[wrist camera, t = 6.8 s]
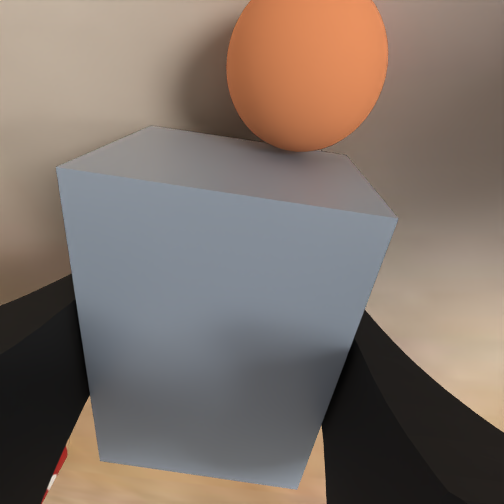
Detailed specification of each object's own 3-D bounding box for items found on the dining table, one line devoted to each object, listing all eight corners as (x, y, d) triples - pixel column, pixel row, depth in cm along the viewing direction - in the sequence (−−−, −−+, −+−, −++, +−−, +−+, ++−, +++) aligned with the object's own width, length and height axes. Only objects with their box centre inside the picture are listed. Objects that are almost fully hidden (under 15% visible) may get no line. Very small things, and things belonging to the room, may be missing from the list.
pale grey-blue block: (151, 125, 10) (55, 167, 6) (346, 155, 10) (398, 218, 6) (153, 342, 14) (99, 460, 10) (291, 363, 14) (297, 489, 10)
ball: (391, 19, 9) (456, -5, 6) (331, 153, 11) (354, 192, 8) (259, -37, 9) (248, -96, 5) (220, 112, 11) (194, 135, 7)
